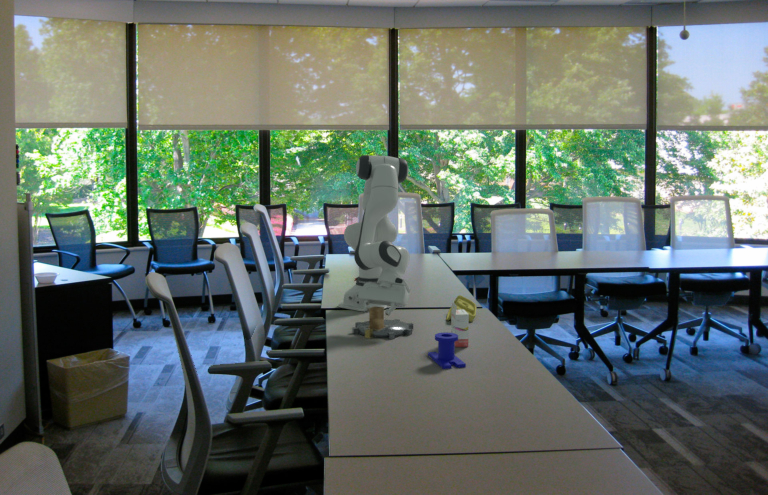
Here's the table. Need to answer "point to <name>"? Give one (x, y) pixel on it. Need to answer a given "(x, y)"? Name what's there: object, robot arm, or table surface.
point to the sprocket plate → (383, 329)
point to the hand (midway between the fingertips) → (376, 312)
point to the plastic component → (464, 307)
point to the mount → (446, 351)
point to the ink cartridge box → (460, 326)
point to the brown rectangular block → (376, 317)
